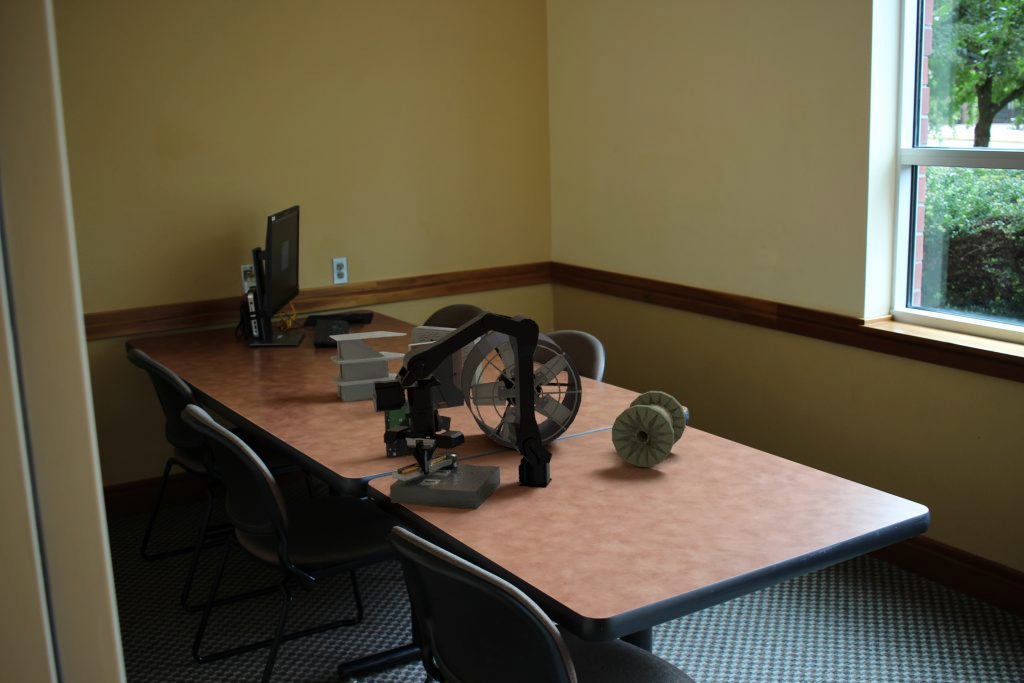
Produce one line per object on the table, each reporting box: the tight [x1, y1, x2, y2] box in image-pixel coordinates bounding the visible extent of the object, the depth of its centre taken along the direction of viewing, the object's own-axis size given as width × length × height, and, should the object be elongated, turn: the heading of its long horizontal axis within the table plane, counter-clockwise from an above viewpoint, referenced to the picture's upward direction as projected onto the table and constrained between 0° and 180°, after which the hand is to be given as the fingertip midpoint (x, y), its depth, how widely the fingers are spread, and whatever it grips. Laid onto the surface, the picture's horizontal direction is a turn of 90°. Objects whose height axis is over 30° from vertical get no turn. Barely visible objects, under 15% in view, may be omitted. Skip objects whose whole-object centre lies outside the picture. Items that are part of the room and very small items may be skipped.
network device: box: [411, 325, 483, 388], centre depth 330 cm, size 26×9×20 cm, turn 58°
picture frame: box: [407, 341, 465, 410], centre depth 298 cm, size 16×2×22 cm, turn 119°
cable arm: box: [391, 450, 459, 481], centre depth 227 cm, size 4×18×3 cm, turn 140°
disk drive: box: [383, 399, 412, 459], centre depth 254 cm, size 10×3×15 cm, turn 119°
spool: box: [611, 390, 687, 468], centre depth 248 cm, size 16×15×15 cm
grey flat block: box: [389, 463, 501, 510], centre depth 226 cm, size 20×18×4 cm
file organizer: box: [329, 330, 407, 403], centre depth 313 cm, size 26×35×22 cm
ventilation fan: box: [461, 330, 583, 450], centre depth 263 cm, size 30×18×30 cm, turn 99°
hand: (426, 474), depth 224 cm, fingers closed
